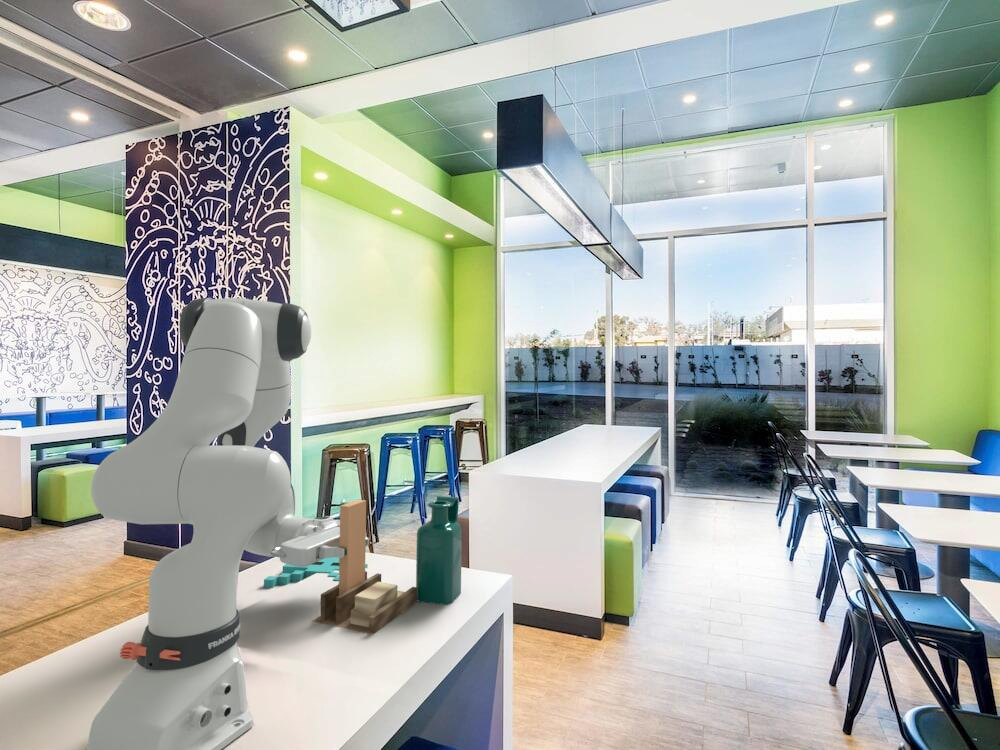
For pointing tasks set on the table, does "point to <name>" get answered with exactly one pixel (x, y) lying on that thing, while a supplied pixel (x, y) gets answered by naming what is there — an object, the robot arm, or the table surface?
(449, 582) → the pitcher
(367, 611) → the offcut stack
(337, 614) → the rack
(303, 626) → the table surface
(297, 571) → the alien figure
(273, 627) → the table surface
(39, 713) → the table surface
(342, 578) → the panel
